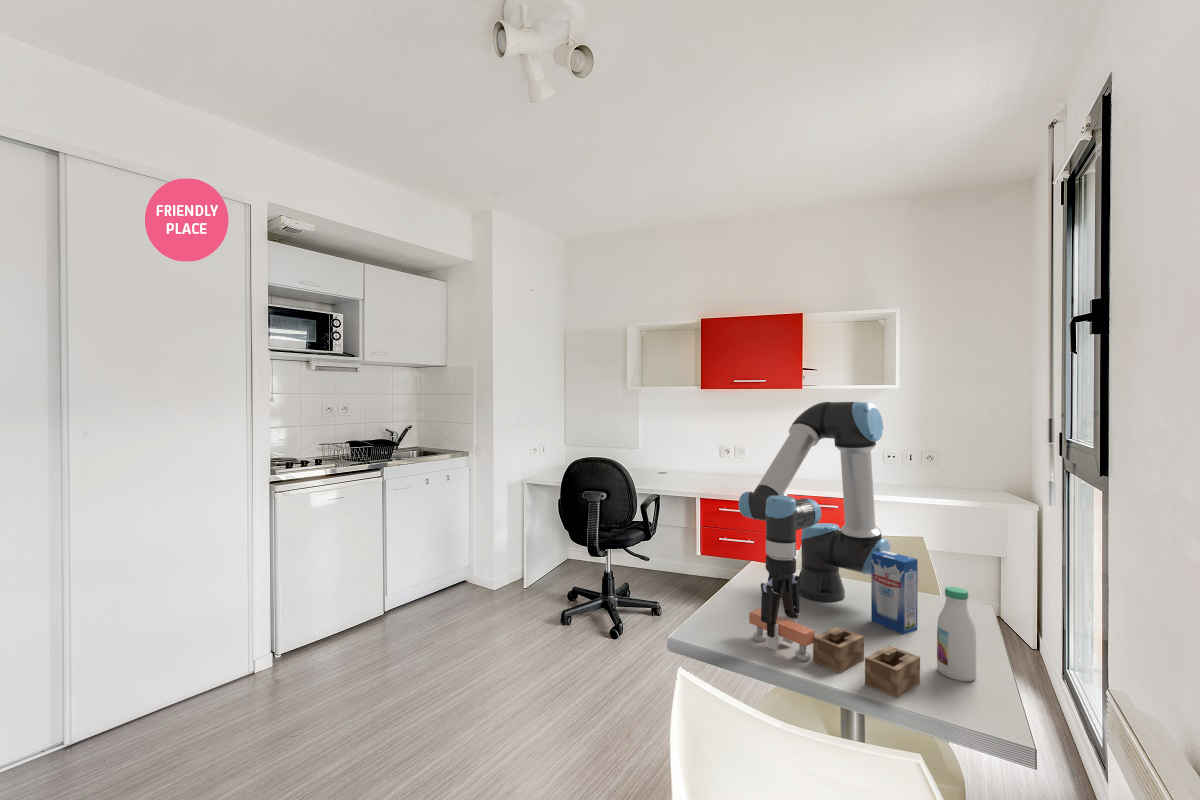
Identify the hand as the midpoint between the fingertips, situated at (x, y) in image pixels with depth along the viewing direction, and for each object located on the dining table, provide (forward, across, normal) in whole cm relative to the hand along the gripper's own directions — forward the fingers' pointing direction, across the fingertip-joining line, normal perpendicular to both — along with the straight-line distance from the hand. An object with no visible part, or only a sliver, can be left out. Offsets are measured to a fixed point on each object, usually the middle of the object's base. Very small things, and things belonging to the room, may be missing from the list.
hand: (780, 645), depth 138 cm
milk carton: (+1, -39, +10) cm, 40 cm away
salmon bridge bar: (+1, 0, 0) cm, 1 cm away
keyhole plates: (+1, -6, +19) cm, 20 cm away
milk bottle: (+1, -23, +32) cm, 39 cm away
